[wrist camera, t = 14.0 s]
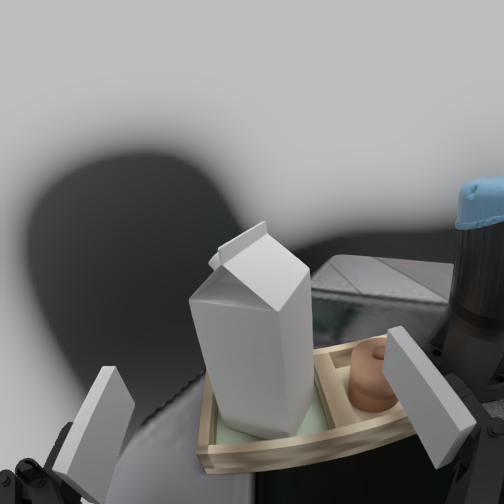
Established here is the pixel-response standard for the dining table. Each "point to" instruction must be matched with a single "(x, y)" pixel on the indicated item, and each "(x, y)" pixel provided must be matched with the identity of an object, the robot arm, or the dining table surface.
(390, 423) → the caddy
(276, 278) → the milk carton
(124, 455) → the dining table surface
